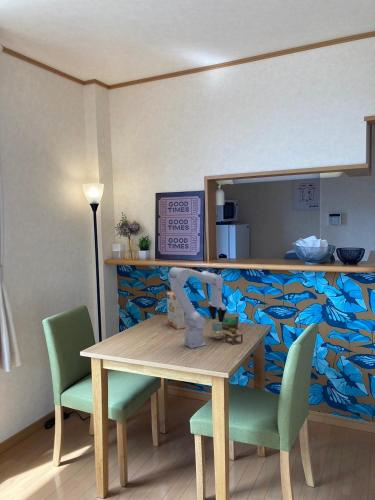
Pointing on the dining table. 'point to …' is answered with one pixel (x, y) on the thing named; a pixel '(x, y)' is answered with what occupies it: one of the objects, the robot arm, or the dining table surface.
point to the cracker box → (175, 312)
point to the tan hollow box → (233, 335)
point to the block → (217, 327)
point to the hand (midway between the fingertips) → (217, 320)
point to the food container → (230, 321)
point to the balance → (223, 333)
